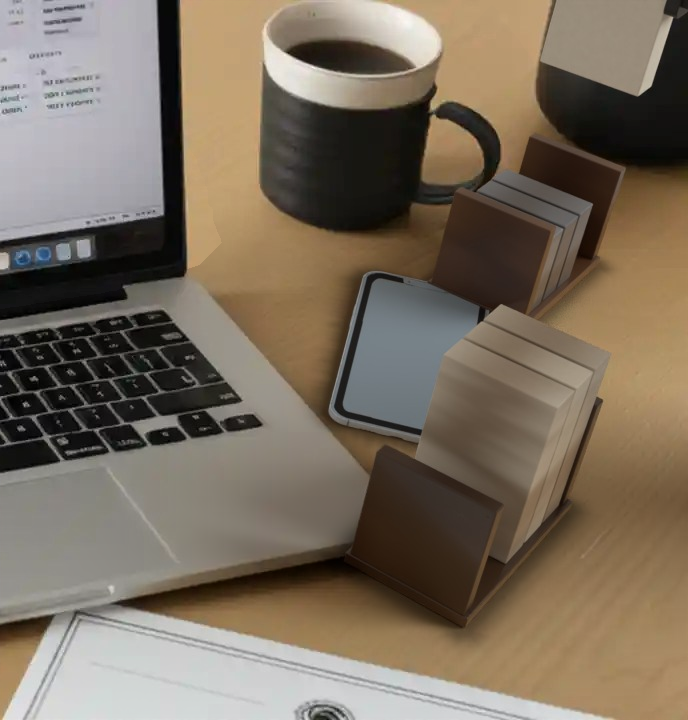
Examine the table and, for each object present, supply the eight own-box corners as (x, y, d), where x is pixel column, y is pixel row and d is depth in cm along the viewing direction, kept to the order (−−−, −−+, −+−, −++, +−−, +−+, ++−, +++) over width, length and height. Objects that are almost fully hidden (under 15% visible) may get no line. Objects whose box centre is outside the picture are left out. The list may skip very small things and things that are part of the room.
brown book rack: (569, 509, 80) (627, 348, 75) (464, 628, 73) (519, 459, 67) (455, 452, 83) (502, 293, 78) (342, 561, 76) (386, 393, 70)
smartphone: (325, 415, 84) (364, 267, 96) (322, 428, 85) (361, 279, 97) (471, 450, 83) (492, 295, 95) (467, 463, 84) (488, 307, 95)
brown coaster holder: (597, 265, 100) (629, 168, 96) (523, 333, 93) (554, 232, 89) (504, 225, 103) (531, 130, 99) (425, 289, 96) (451, 189, 92)
